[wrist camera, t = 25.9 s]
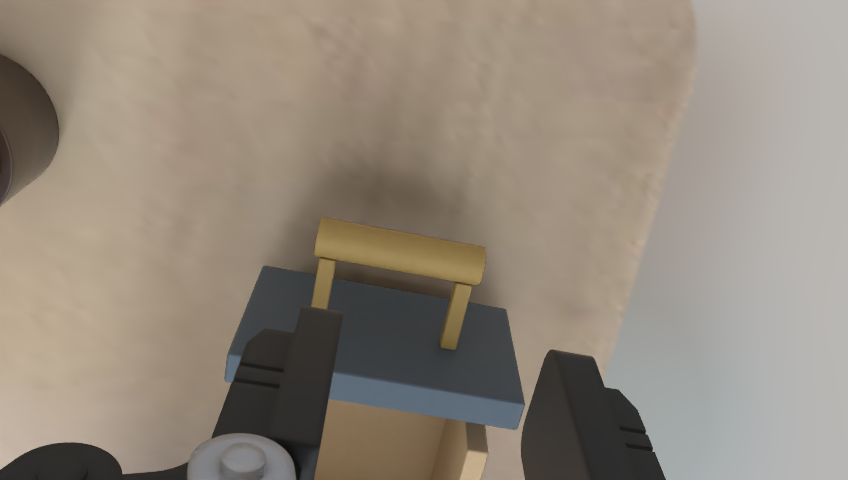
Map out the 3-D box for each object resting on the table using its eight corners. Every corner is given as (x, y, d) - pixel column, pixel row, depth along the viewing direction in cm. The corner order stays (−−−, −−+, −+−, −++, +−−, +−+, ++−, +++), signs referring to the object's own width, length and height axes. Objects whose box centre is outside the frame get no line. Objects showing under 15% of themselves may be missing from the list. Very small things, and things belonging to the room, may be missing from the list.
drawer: (276, 170, 32) (241, 242, 25) (532, 219, 32) (558, 300, 26) (231, 495, 38) (194, 614, 32) (444, 527, 39) (448, 650, 33)
